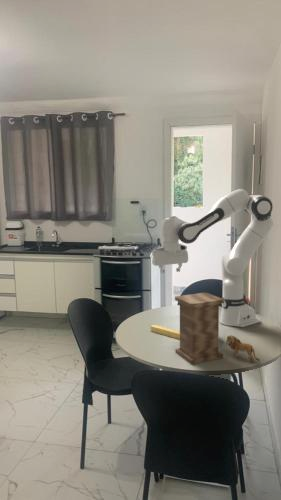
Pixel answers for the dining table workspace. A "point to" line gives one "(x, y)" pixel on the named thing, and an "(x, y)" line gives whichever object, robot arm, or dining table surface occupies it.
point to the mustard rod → (165, 331)
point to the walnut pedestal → (199, 327)
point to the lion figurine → (240, 347)
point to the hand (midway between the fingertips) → (170, 272)
